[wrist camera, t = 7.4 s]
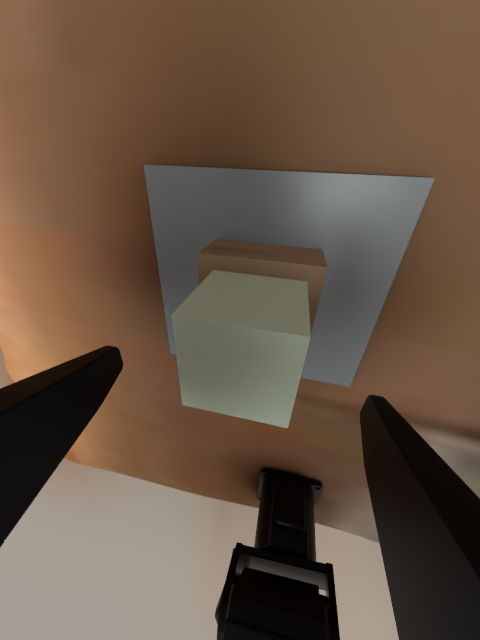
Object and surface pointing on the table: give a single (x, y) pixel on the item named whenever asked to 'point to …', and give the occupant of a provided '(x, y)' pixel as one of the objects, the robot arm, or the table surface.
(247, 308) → the sage cube
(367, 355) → the table surface
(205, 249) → the walnut block
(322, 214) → the slate pad
